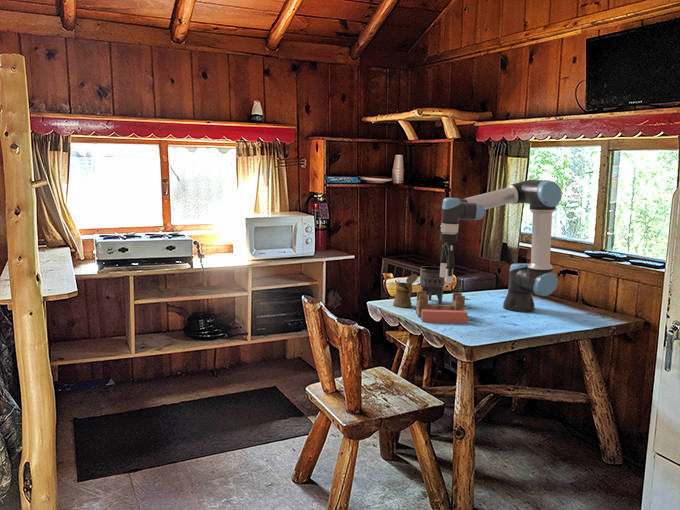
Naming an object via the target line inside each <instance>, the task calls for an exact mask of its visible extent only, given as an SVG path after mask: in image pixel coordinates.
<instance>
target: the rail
mask: <svg viewBox="0 0 680 510" xmlns="http://www.w3.org/2000/svg"><path fill="white" fill-rule="evenodd" d="M421 320H422V321H421ZM420 321H421V322H422V323H440V324H444V323H445V324H467V323H468V311H466V310H464V311H459V310H426V309H422V311H421V317H420Z"/></svg>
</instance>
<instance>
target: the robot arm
mask: <svg viewBox="0 0 680 510" xmlns="http://www.w3.org/2000/svg"><path fill="white" fill-rule="evenodd" d="M562 194H563V193H562V189H561V187H560V186H559V185H558V183H556V182H555V181H554V180H553V181H552V180H547V179H544V180H543V179H526V180H523V181H518V182H516V183H513V184H508V185H507V186H506V187H505V188H501V189H497V190H492V191H489V192H485V193H480V194H477V195H472V196H468V197H465V198H459V197H458V198H457V197H444V198H443V200H442V205H441V206H442V207H441V224H440V225H439V227H440V232H441V233H440V236H439V240H440V242H441V244H442V245H441V251H440V257H439V262H440V266H439V267H440V277H445V284H453V276H454V269H455V268H456V265H455V246H454V245H453V244H454V243H458V237H459V236H458V233H459V226H460V224H459V223H460V221H461V220H462V221H463V220H464V221H478V220H479V221H481V220H482V219H483V217H484V215H485V210H488V209H492V208H497V207H501V206H504V205H508V204H511V205H517V204H518V205H519V204H528V205H529V210H530V211H531V213H532V221H531V222H532V225H531V227H532V228H531V249H530V251H531V252H530V253H531V255H530V263H512V264H510V267H509V276H508V286H507V287H508V290H507V294H506V296H505V298H504V301H503V302H502V303H503V304H502V307H503V309H505V310H508V311H512V312H517V313H532V312H534V311H535V309H536V307H535V306H536V305H535V302H534V297H533V294H535V295H537V296H542V297H545V296H546V297H547V296H549V295H552V294H553V293H554V291H556V289H557V287H558V281H559V279H558V277H557V275H556V274H555V273H554V266H553V265H552V264H551V249H552V248H551V247H552V221H553V218H552V217H553V212H555V211H556V210H557V206H558V205H559V203H560V202H561V201H562V197H563V195H562Z"/></svg>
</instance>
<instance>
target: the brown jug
mask: <svg viewBox="0 0 680 510" xmlns="http://www.w3.org/2000/svg"><path fill="white" fill-rule="evenodd" d="M418 278H419V275H418V274H417V273H416V272H415V273H413V274H411V275H409V276H408V277H407V278H406V282H397V285H396V287H395V289H396V290H395V295H394V298H393V299H394V300H393V302H392V306H393V307H396V308H402V309H405V308H406V309H407V308H411V307H412V305H413V304H412V300H411V299H412V298H411V297H412V294H413V284H414V283H415V282H416V281H417V280H418Z"/></svg>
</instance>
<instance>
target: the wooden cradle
mask: <svg viewBox="0 0 680 510" xmlns="http://www.w3.org/2000/svg"><path fill="white" fill-rule="evenodd" d="M428 298H429V294H427V295H426V292H421V291H418V290H417V291H416V302H415V303H416V305H415V307H416V308H415V314H416V316H417V317H418V318H421V311H422V309H426V310H459V311H465V306H466V305H465V301H466V295H463V294H462V292H452V301H451V305H450V304H449V305H448V304H446V305H445V304H429V300H428Z"/></svg>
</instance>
